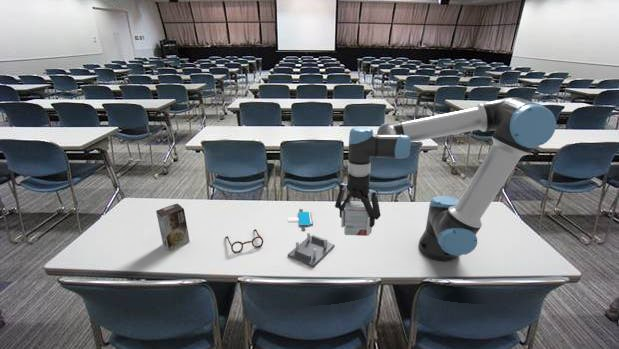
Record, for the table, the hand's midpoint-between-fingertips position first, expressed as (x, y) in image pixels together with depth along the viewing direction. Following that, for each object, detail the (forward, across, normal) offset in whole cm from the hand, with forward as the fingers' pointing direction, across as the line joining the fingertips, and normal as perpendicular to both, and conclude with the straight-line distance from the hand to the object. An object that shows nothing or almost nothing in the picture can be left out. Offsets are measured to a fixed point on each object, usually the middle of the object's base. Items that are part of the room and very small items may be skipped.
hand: (356, 229), depth 119 cm
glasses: (+15, +45, +14) cm, 49 cm away
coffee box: (+14, +68, +30) cm, 75 cm away
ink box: (+1, 0, 0) cm, 1 cm away
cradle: (+15, +18, +3) cm, 23 cm away
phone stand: (+15, +36, -15) cm, 41 cm away
